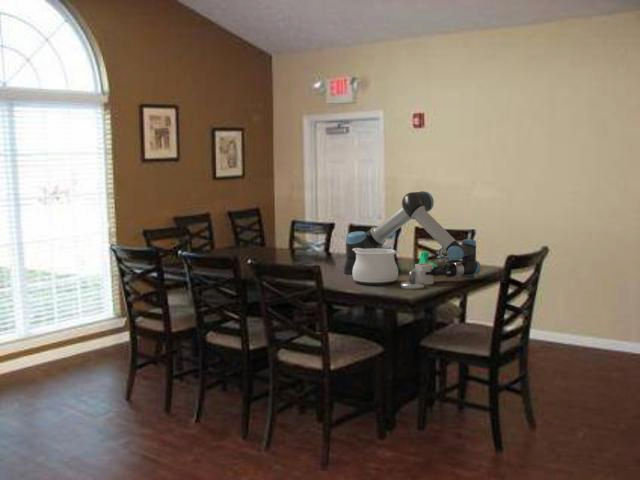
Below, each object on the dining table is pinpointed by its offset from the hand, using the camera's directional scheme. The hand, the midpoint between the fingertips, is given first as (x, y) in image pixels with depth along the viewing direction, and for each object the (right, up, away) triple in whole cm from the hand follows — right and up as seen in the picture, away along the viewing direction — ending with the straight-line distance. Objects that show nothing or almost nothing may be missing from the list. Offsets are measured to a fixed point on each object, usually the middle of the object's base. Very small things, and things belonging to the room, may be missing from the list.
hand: (415, 272), depth 377 cm
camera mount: (+15, 0, +56) cm, 58 cm away
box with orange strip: (+5, -6, +3) cm, 8 cm away
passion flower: (+29, +3, +82) cm, 87 cm away
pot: (-21, -6, +9) cm, 23 cm away
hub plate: (-3, -7, -9) cm, 12 cm away
